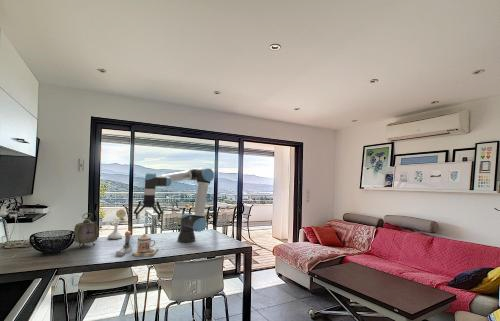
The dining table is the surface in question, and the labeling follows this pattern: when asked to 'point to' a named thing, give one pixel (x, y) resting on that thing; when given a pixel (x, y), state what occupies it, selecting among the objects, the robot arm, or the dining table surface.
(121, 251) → the lever track
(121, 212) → the flower in vase
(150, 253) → the press bed
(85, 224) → the tabletop clock
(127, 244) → the lever handle
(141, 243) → the teacup with lid
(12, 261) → the dining table surface
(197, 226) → the robot arm
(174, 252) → the dining table surface
